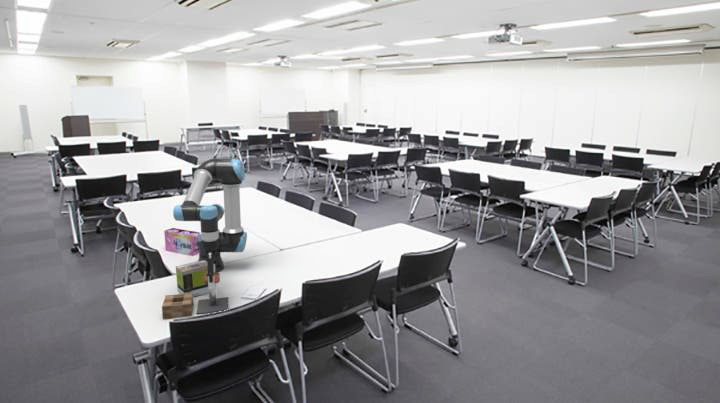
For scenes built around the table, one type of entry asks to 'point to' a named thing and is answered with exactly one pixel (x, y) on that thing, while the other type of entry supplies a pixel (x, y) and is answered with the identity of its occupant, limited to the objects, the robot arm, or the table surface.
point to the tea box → (192, 278)
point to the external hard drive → (253, 293)
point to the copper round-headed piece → (213, 291)
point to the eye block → (177, 306)
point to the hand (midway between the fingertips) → (212, 282)
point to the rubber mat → (206, 308)
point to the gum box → (181, 241)
